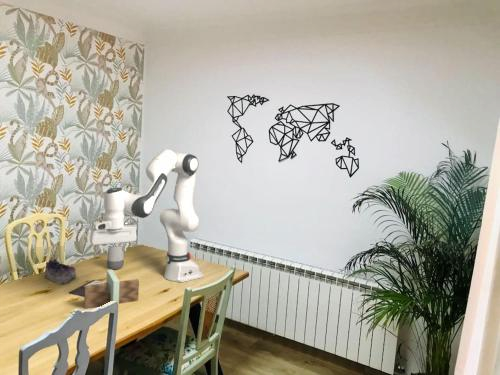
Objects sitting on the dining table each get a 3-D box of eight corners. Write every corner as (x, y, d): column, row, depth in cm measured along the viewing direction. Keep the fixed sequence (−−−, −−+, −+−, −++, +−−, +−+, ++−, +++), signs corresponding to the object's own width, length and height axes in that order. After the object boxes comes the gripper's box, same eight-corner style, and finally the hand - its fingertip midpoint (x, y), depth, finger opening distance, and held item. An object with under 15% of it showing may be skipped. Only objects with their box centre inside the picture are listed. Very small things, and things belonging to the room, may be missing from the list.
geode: (34, 278, 202) (36, 259, 202) (54, 274, 212) (56, 257, 212) (59, 286, 192) (61, 266, 192) (79, 282, 203) (81, 263, 203)
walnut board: (136, 298, 186) (137, 279, 185) (138, 300, 184) (138, 281, 183) (84, 306, 174) (84, 286, 172) (85, 309, 171) (85, 288, 170)
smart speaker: (120, 264, 231) (121, 242, 229) (125, 269, 224) (126, 246, 222) (104, 266, 225) (105, 244, 223) (109, 271, 218) (110, 248, 216)
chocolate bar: (68, 292, 186) (93, 280, 203) (68, 294, 186) (93, 281, 203) (84, 295, 184) (107, 283, 201) (83, 297, 184) (107, 284, 201)
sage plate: (106, 297, 185) (106, 269, 183) (111, 296, 186) (112, 269, 184) (112, 311, 171) (113, 281, 169) (118, 310, 173) (119, 281, 171)
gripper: (135, 220, 181) (134, 247, 183) (89, 222, 171) (89, 252, 173) (138, 223, 176) (137, 251, 178) (91, 226, 166) (91, 256, 168)
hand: (113, 252), depth 175 cm, fingers open, 8 cm apart
